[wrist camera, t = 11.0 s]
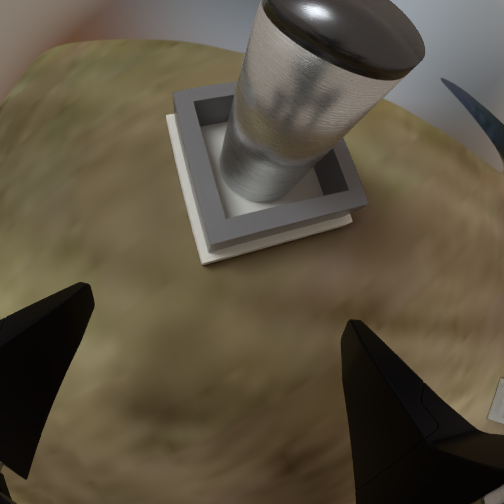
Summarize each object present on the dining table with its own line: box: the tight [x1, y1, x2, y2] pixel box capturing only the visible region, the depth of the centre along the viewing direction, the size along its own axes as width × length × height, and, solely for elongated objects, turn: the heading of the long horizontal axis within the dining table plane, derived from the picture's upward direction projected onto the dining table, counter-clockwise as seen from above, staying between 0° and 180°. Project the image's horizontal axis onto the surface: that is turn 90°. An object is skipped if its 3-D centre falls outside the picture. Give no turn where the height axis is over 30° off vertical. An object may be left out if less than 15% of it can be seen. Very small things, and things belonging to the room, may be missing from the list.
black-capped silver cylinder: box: [219, 0, 425, 203], centre depth 11 cm, size 5×5×12 cm
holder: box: [166, 82, 369, 266], centre depth 17 cm, size 10×10×4 cm
